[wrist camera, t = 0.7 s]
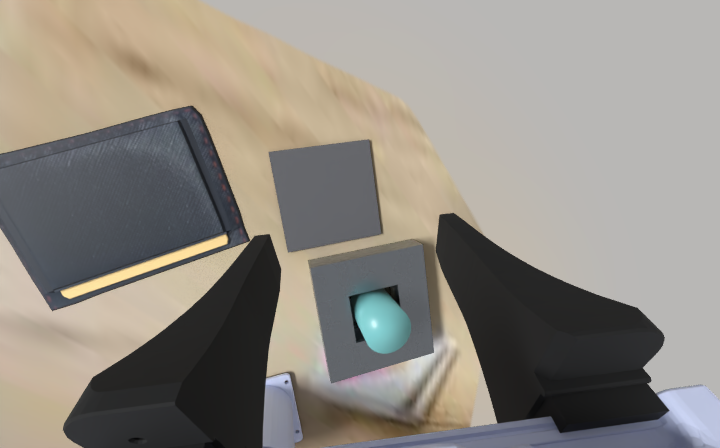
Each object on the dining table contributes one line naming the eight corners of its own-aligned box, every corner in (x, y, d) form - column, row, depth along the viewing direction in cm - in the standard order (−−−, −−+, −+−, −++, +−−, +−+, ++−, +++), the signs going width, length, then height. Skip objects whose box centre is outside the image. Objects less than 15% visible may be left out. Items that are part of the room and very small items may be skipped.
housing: (423, 339, 40) (434, 352, 37) (327, 367, 37) (331, 383, 34) (412, 239, 37) (422, 244, 34) (308, 260, 34) (310, 268, 32)
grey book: (195, 100, 28) (251, 249, 32) (201, 105, 30) (253, 244, 33) (-58, 157, 24) (37, 318, 28) (-34, 158, 26) (52, 309, 30)
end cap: (391, 316, 38) (413, 346, 32) (353, 326, 37) (368, 359, 30) (386, 279, 37) (408, 302, 31) (347, 288, 36) (361, 314, 30)
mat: (380, 233, 36) (381, 233, 36) (288, 251, 34) (288, 252, 33) (368, 139, 34) (368, 139, 34) (268, 152, 32) (268, 152, 31)
